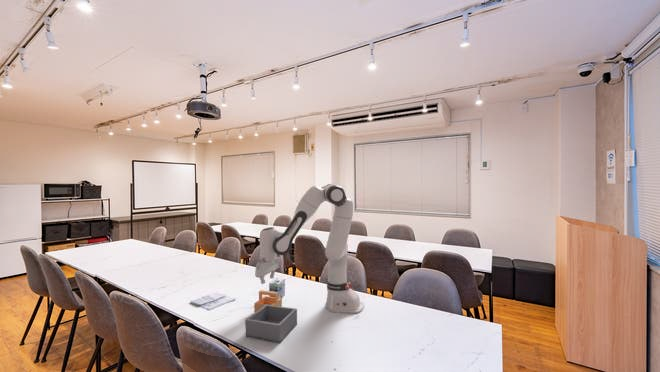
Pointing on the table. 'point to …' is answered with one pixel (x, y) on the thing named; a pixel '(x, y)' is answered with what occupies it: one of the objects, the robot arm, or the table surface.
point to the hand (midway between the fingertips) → (267, 280)
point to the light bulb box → (277, 287)
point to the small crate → (267, 300)
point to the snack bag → (208, 300)
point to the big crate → (271, 323)
